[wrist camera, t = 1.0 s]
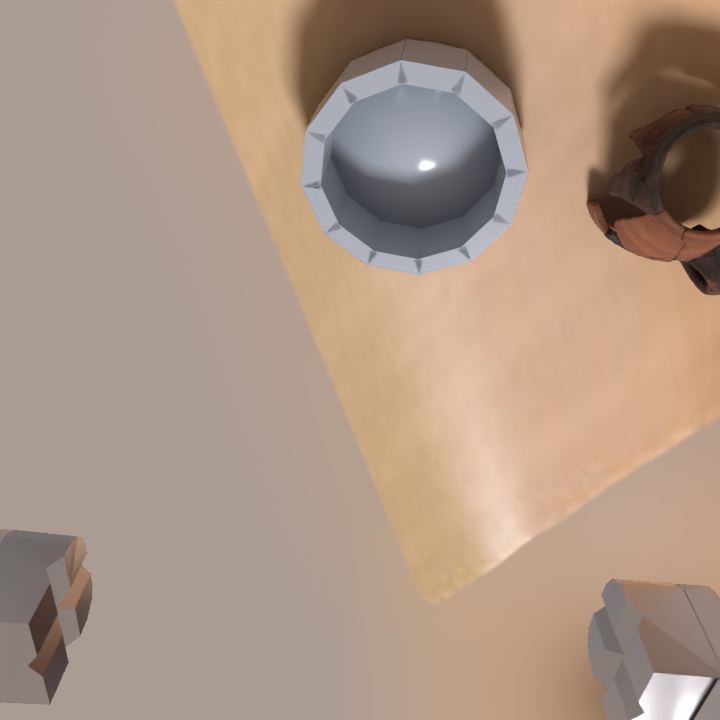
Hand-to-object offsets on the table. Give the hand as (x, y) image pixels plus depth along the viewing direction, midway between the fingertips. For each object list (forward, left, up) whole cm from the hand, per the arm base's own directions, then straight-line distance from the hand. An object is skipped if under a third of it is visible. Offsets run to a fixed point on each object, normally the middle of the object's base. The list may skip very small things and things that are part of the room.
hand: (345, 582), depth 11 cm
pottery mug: (-10, +16, -37) cm, 42 cm away
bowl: (+4, +8, -37) cm, 38 cm away
